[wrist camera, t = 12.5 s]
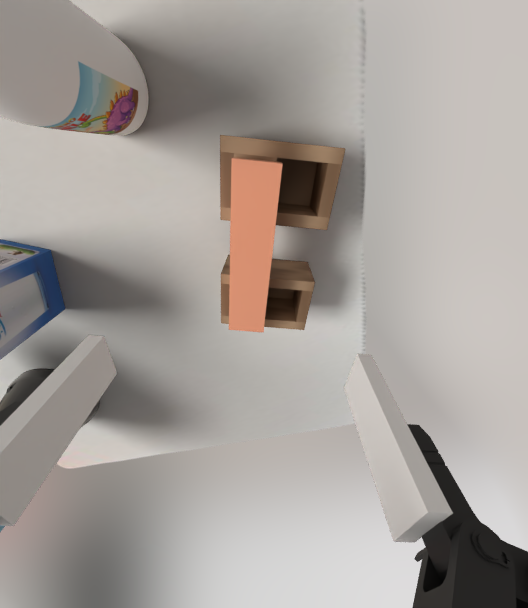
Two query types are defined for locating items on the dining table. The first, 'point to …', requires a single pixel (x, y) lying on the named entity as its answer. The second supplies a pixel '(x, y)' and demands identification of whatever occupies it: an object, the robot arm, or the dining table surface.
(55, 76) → the milk bottle
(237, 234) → the salmon bridge bar
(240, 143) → the keyhole plates
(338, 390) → the dining table surface
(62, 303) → the milk carton
